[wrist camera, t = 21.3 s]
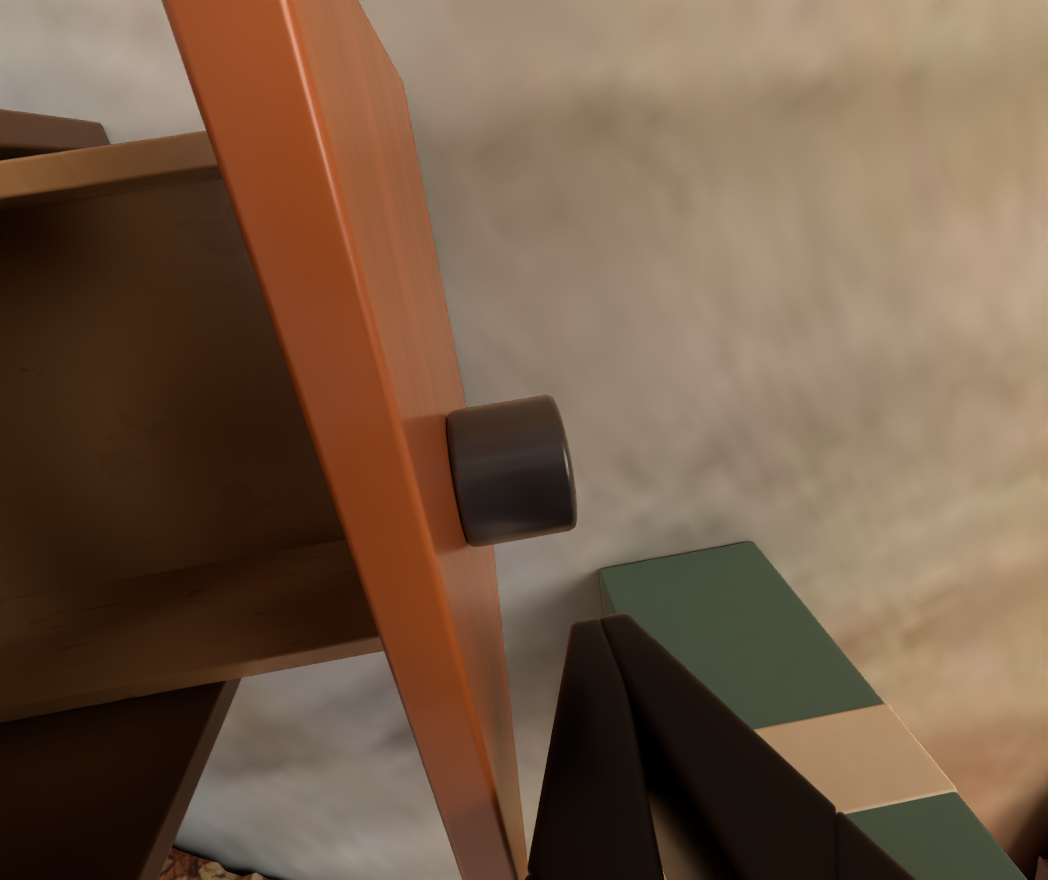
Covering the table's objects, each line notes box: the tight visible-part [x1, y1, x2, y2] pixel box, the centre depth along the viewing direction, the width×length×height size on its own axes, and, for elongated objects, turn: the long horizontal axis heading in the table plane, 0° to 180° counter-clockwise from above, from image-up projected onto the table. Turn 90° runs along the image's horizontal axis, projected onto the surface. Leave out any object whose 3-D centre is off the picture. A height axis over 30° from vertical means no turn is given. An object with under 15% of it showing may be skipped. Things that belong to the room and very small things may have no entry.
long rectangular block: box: [599, 541, 1027, 880], centre depth 12 cm, size 5×5×11 cm
